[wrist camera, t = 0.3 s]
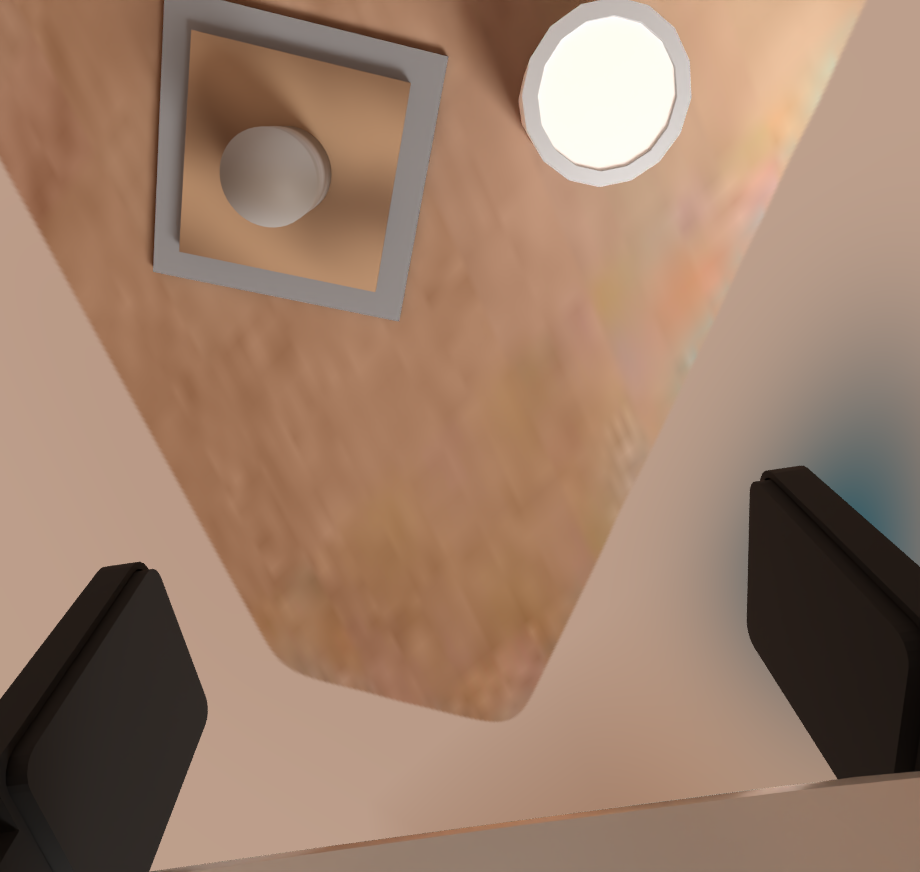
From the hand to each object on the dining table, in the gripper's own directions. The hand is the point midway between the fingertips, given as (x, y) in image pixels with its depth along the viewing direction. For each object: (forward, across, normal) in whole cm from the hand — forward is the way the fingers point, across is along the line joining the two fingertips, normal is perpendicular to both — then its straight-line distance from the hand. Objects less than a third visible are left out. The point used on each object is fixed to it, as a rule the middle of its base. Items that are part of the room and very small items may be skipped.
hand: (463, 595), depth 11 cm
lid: (+28, +6, -6) cm, 30 cm away
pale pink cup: (+29, -8, -7) cm, 31 cm away
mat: (+29, +6, -6) cm, 30 cm away
